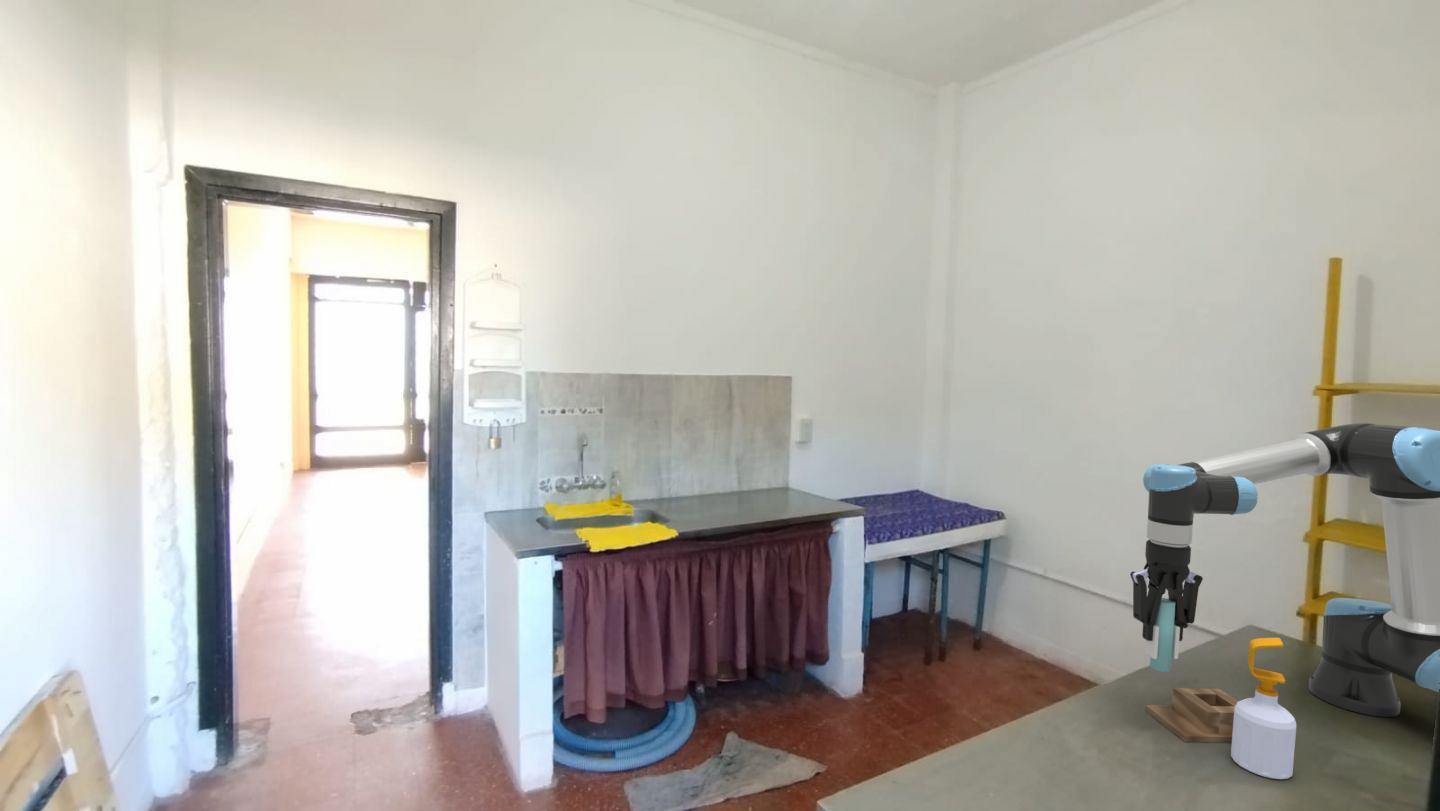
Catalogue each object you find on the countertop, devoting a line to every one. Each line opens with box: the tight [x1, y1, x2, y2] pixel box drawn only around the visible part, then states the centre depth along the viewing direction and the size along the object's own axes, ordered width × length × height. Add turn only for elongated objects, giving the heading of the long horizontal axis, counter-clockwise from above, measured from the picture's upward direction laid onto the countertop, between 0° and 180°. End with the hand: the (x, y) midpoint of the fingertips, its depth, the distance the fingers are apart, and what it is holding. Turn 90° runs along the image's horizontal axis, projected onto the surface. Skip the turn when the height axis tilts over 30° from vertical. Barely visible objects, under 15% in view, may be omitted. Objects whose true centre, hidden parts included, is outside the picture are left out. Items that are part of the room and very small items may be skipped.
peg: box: [1149, 597, 1175, 673], centre depth 134 cm, size 4×4×14 cm
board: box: [1145, 687, 1240, 744], centre depth 138 cm, size 20×12×6 cm, turn 91°
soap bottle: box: [1230, 637, 1297, 780], centre depth 124 cm, size 9×9×25 cm
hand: (1161, 655), depth 134 cm, fingers closed on peg, 3 cm apart
